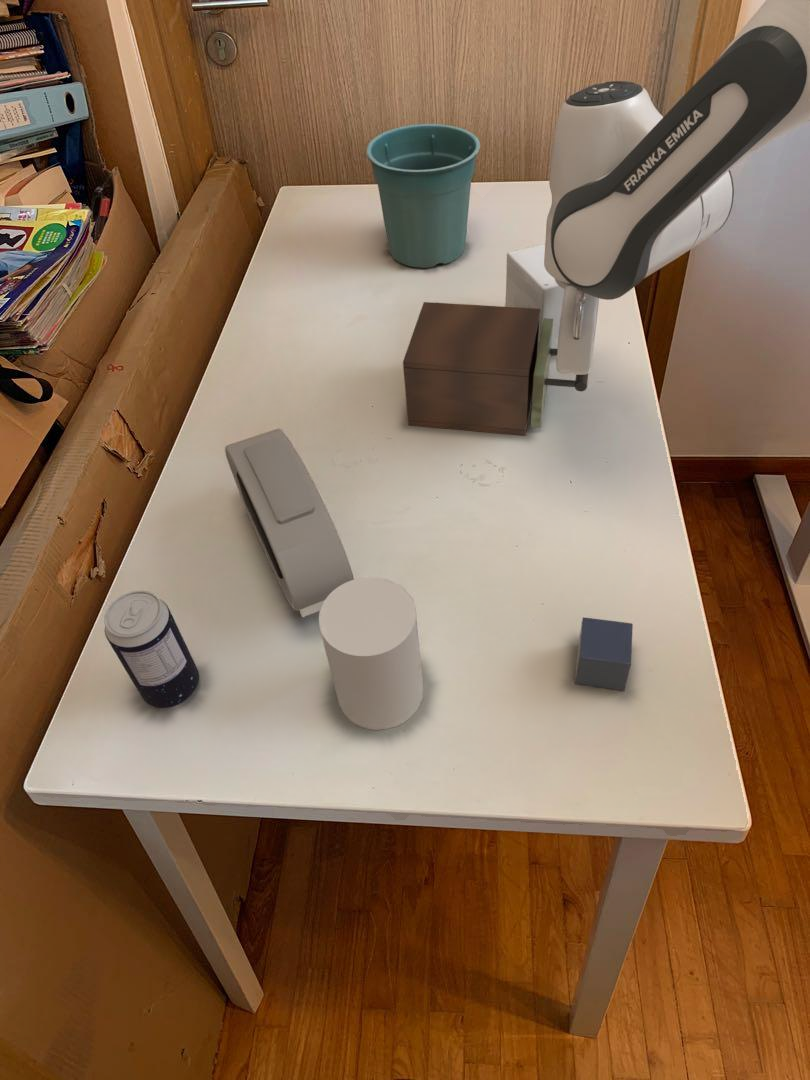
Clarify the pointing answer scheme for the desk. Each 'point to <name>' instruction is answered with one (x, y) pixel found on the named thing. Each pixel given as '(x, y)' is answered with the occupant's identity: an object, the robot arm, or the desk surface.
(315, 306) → the desk surface
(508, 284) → the cosmetics box
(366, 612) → the white solid cylinder
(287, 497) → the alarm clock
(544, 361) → the drawer
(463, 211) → the flower pot
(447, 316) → the cabinet
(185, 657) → the beverage can
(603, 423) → the desk surface
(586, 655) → the block
